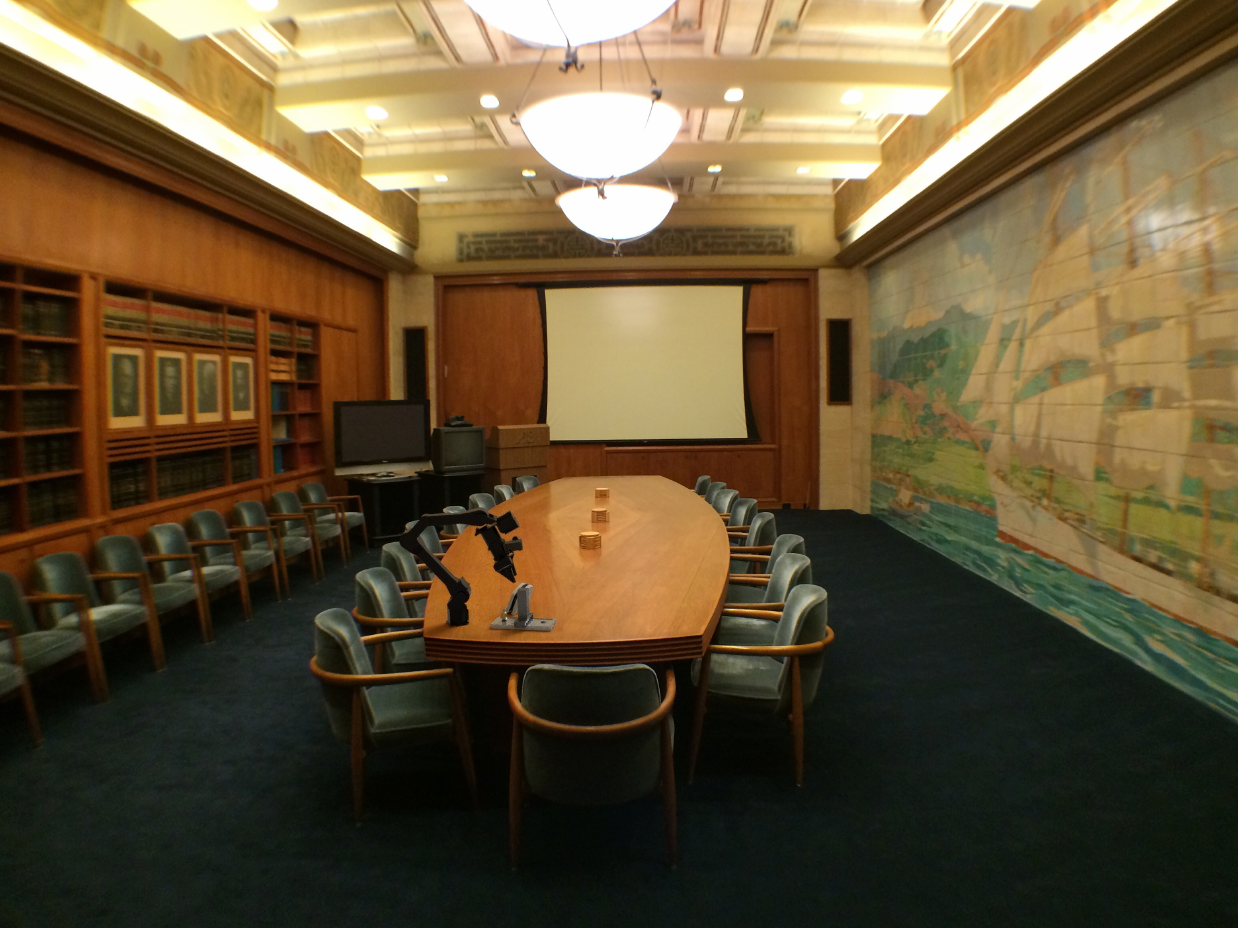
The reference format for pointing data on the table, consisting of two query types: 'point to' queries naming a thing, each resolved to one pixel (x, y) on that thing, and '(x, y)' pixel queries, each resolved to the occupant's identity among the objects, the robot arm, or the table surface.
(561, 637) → the table surface
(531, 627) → the bolt plate
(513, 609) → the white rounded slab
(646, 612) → the table surface
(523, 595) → the leg
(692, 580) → the table surface
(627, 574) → the table surface
